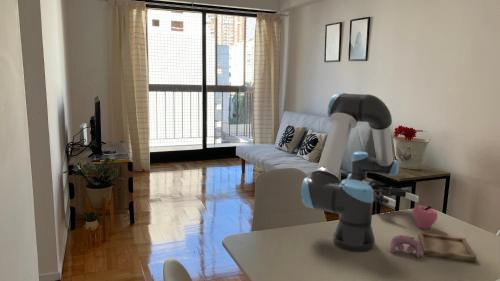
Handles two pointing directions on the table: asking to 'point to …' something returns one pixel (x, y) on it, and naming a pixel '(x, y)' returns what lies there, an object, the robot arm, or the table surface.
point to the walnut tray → (446, 247)
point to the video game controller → (411, 241)
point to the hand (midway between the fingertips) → (406, 201)
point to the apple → (424, 216)
